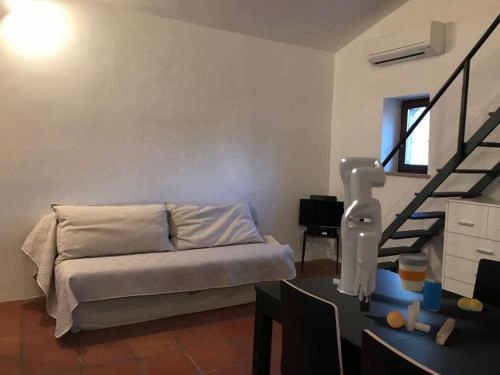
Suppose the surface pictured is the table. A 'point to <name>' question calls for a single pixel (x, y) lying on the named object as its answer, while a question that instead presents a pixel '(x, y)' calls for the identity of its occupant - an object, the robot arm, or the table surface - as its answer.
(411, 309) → the pin
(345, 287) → the robot arm
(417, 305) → the pin
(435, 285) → the beverage can
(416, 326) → the front pin
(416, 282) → the reusable coffee cup
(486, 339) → the table surface
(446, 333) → the cream long bar
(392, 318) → the ball
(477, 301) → the bread roll
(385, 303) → the table surface
